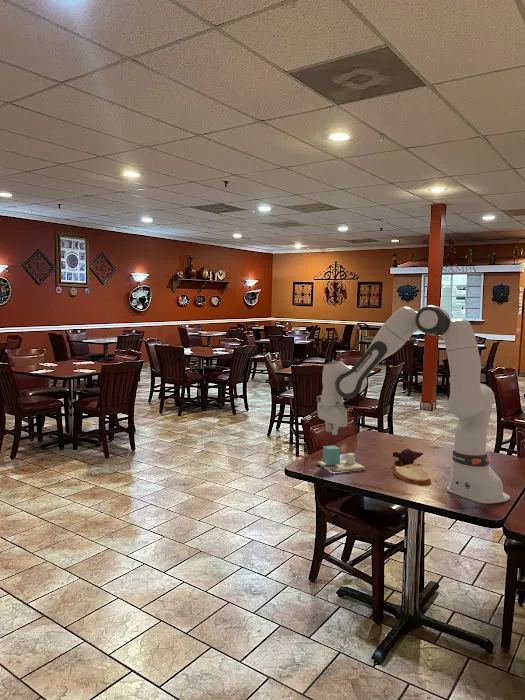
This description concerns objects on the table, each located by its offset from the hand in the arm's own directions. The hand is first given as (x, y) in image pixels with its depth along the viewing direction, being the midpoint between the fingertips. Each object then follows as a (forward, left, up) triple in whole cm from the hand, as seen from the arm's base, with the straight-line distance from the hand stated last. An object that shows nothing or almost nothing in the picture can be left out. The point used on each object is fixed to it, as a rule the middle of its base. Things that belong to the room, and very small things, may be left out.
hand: (331, 433), depth 226 cm
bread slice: (-20, -27, -16) cm, 36 cm away
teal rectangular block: (0, 0, -13) cm, 13 cm away
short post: (0, -9, -14) cm, 16 cm away
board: (0, -5, -15) cm, 16 cm away
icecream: (-4, -35, -15) cm, 38 cm away
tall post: (0, 0, -14) cm, 14 cm away
